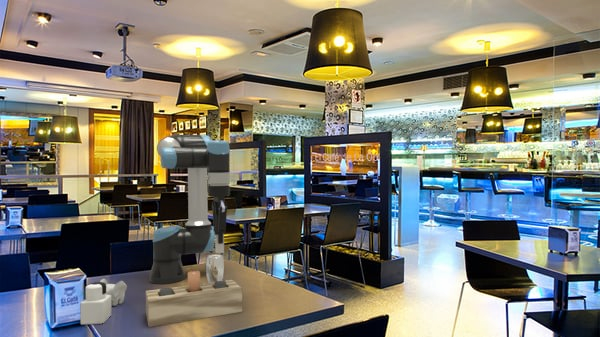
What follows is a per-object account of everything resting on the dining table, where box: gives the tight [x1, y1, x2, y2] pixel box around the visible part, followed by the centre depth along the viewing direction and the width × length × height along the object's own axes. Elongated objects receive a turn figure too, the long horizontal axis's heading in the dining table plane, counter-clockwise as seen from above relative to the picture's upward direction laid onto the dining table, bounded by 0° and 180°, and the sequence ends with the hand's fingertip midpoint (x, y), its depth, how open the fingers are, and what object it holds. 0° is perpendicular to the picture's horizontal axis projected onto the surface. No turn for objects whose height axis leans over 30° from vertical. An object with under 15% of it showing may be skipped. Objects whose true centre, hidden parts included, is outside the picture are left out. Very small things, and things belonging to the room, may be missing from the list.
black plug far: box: [214, 280, 226, 289], centre depth 142 cm, size 4×4×8 cm
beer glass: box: [205, 254, 225, 283], centre depth 158 cm, size 7×7×15 cm
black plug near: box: [159, 287, 173, 296], centre depth 134 cm, size 4×4×8 cm
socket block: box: [145, 279, 243, 328], centre depth 138 cm, size 12×30×8 cm, turn 115°
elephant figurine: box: [99, 278, 128, 307], centre depth 148 cm, size 10×12×9 cm
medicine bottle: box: [79, 281, 113, 325], centre depth 133 cm, size 7×7×12 cm
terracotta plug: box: [187, 269, 201, 293], centre depth 138 cm, size 4×4×8 cm
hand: (219, 252), depth 142 cm, fingers closed
